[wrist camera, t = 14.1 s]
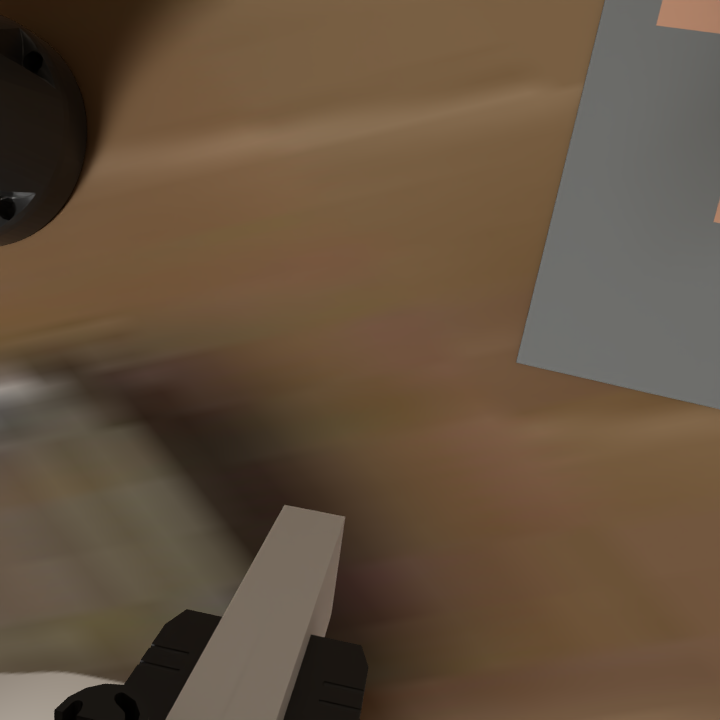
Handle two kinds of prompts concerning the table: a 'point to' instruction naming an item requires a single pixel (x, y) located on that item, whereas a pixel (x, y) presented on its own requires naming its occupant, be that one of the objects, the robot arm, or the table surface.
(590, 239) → the t mat
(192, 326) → the table surface
